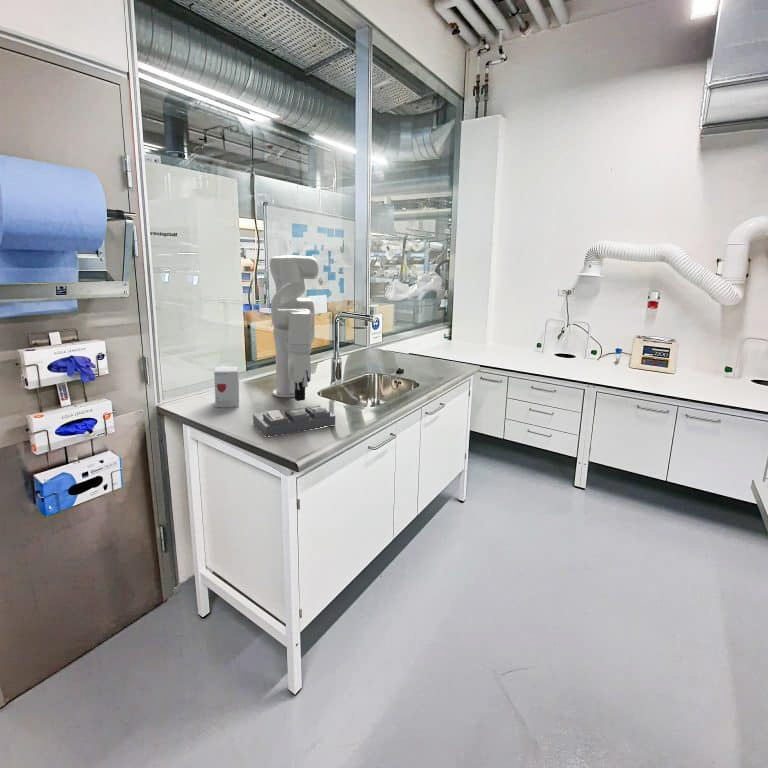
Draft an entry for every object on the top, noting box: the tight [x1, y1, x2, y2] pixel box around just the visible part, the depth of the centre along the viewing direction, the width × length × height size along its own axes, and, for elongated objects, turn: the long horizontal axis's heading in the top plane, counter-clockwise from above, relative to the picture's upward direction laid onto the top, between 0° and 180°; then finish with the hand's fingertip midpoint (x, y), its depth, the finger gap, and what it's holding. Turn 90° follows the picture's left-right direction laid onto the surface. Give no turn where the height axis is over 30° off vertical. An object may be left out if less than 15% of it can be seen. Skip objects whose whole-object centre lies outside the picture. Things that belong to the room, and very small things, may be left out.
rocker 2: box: [309, 406, 327, 413], centre depth 165 cm, size 6×4×1 cm, turn 33°
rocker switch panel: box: [252, 404, 336, 438], centre depth 163 cm, size 14×26×6 cm, turn 123°
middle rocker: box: [289, 410, 306, 416], centre depth 161 cm, size 6×4×1 cm, turn 33°
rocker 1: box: [266, 409, 284, 420], centre depth 156 cm, size 6×4×1 cm, turn 33°
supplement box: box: [213, 366, 240, 409], centre depth 181 cm, size 9×9×15 cm
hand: (299, 399), depth 157 cm, fingers closed
